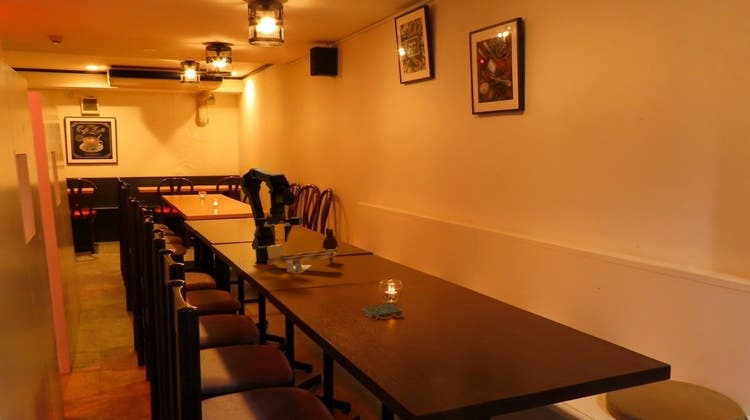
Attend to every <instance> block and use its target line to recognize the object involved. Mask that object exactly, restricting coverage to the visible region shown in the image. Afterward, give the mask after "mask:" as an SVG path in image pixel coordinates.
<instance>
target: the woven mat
mask: <svg viewBox="0 0 750 420" xmlns="http://www.w3.org/2000/svg"><path fill="white" fill-rule="evenodd" d="M361 311H362V312H363V313H364V314H365V315H366V317H368V318H369V319H371V321H372V320H373V321H374V320H375V321H377V320H384V319H385V320H387V319H388V320H389V319H392V318H398V319H399V318H404V317H405V314H404V311H403V310H401V308H399V307H398V306H396V305H395V304H394V303H390V302H388V303H386V304H385V303H382V304H378V305H375V304H373V305H371V306H370V305H368V306H365V305H364V306H363V307H362V309H361Z"/></svg>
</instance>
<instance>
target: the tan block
mask: <svg viewBox="0 0 750 420" xmlns="http://www.w3.org/2000/svg"><path fill="white" fill-rule="evenodd" d="M267 251H268V257H269V260H270V259H279V258H285V256H284V255H285V251H284V244H283V243H281V244H275V245H271V246H269V247H267Z"/></svg>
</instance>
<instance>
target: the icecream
mask: <svg viewBox="0 0 750 420" xmlns="http://www.w3.org/2000/svg"><path fill="white" fill-rule="evenodd" d="M325 236H326V237H324V239H323V241H322V246H321V247H322V248H323V249H325V250H332V249H337V248H338V247H339V245H338V240H337V239H336V236H335V235H334V230H333V228H329V227H326V228H325ZM333 258H334V257H332V258H328V259H329V262H330V263H332V262H333Z"/></svg>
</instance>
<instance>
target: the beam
mask: <svg viewBox="0 0 750 420" xmlns="http://www.w3.org/2000/svg"><path fill="white" fill-rule="evenodd" d="M338 254H339V251H338V248H336V249H332V250H317V251H309V252H302V253H301V252H300V253H290V254H284V256H285V258H279V259H270V260H267V264H266V265H267V266H270V265H280V264H287V262H298V261H301V262H306V261H314V260H315V261H316V260H321V259H322V260H323V259H329V258H332V257H333V258H335V257H336V256H337V255H338Z"/></svg>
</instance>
